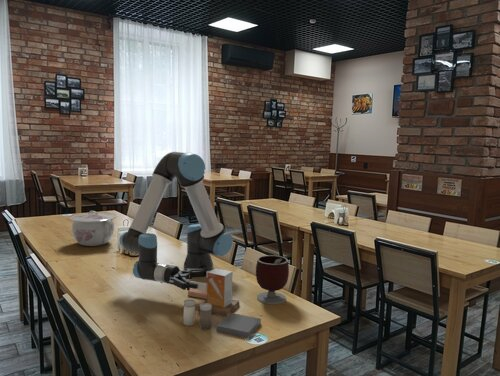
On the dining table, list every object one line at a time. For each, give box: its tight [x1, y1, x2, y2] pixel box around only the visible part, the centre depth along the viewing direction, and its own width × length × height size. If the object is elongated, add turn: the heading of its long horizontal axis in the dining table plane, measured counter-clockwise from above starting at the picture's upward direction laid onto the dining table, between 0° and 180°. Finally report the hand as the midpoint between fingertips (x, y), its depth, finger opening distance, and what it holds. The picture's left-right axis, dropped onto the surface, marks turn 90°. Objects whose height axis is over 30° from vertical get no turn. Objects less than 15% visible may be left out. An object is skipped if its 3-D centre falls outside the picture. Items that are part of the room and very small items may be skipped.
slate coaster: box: [216, 312, 262, 339], centre depth 151 cm, size 12×12×2 cm
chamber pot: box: [68, 210, 118, 247], centre depth 257 cm, size 28×28×21 cm
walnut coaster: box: [198, 298, 240, 318], centre depth 167 cm, size 12×12×2 cm
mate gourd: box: [255, 254, 290, 305], centre depth 177 cm, size 16×14×20 cm
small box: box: [206, 268, 233, 308], centre depth 166 cm, size 8×6×13 cm
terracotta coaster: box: [187, 281, 207, 300], centre depth 183 cm, size 12×12×2 cm
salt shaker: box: [182, 298, 197, 327], centre depth 153 cm, size 4×4×8 cm
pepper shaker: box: [199, 302, 212, 331], centre depth 150 cm, size 4×4×8 cm
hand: (213, 281), depth 167 cm, fingers open, 13 cm apart
